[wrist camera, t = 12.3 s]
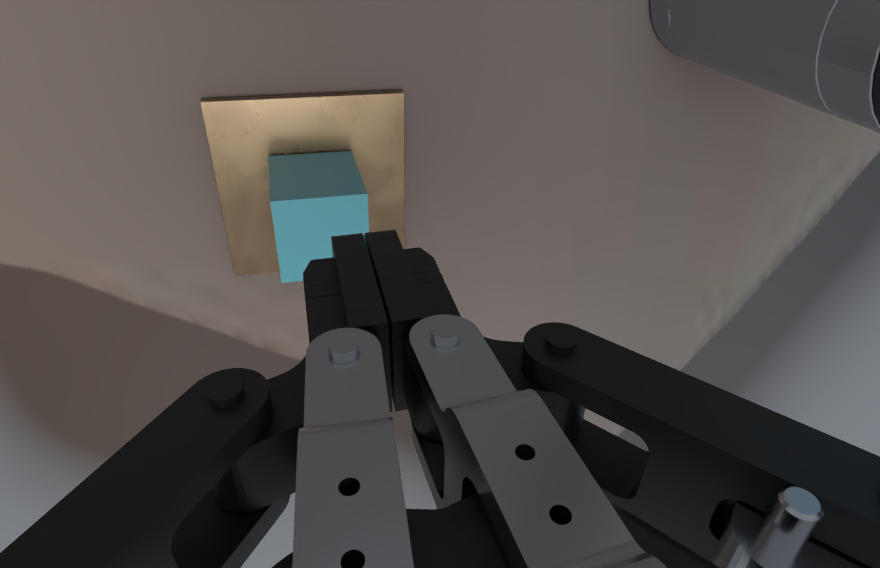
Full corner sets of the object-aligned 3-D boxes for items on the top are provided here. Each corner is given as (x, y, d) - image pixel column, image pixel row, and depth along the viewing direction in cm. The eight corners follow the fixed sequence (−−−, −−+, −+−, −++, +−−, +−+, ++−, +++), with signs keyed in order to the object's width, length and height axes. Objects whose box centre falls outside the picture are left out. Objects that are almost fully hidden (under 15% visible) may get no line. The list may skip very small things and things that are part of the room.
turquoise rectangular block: (351, 150, 37) (367, 193, 32) (355, 222, 40) (370, 273, 35) (268, 156, 36) (270, 201, 31) (278, 229, 39) (281, 283, 34)
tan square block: (401, 89, 37) (427, 125, 31) (402, 251, 44) (424, 305, 38) (201, 98, 34) (191, 138, 29) (235, 269, 41) (232, 330, 35)
